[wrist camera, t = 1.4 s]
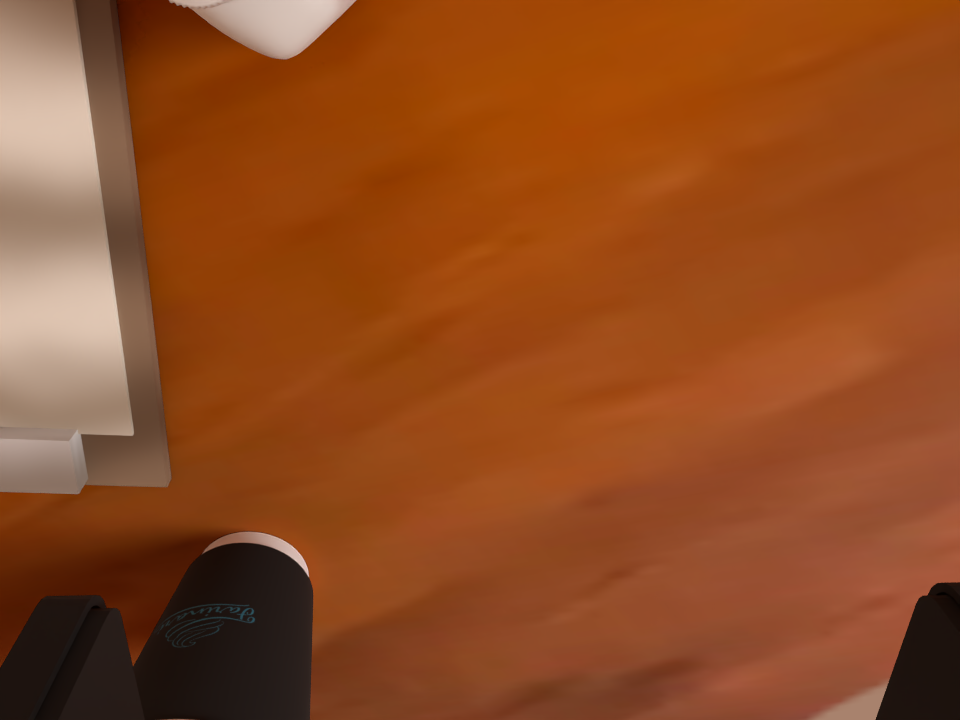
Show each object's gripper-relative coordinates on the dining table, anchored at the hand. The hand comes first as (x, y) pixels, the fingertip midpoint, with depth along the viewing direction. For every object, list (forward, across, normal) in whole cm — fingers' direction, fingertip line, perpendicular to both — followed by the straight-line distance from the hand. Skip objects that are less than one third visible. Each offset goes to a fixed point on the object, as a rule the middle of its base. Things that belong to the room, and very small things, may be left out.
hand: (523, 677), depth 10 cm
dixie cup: (+22, +9, +17) cm, 29 cm away
